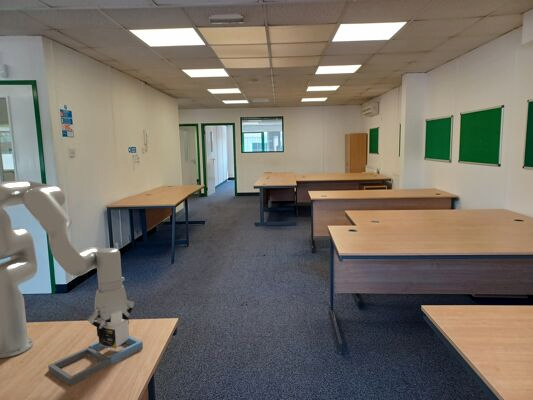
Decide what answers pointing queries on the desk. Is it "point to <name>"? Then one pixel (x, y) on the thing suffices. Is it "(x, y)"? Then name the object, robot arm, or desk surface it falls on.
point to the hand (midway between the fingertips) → (113, 332)
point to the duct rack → (92, 352)
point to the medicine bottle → (115, 331)
